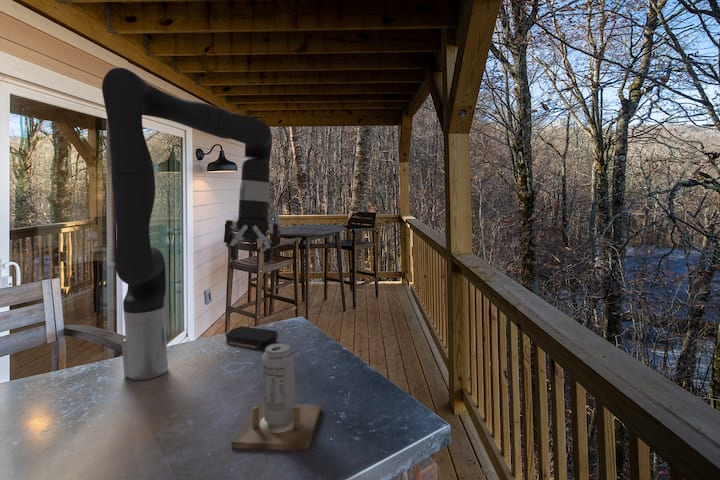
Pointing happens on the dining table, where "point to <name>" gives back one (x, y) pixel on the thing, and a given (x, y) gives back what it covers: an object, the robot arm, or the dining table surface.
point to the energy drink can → (278, 385)
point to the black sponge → (251, 337)
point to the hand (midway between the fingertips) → (251, 261)
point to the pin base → (278, 430)
